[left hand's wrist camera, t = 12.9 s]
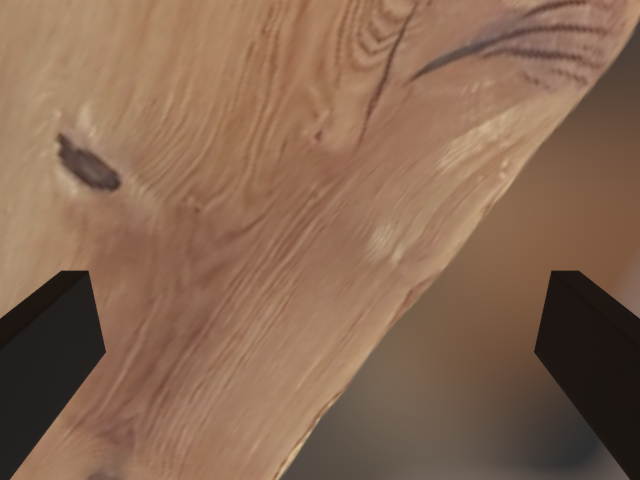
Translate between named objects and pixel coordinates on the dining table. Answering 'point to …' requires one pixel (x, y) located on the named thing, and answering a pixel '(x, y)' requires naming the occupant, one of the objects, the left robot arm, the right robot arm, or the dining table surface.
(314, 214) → the dining table surface
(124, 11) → the dining table surface
